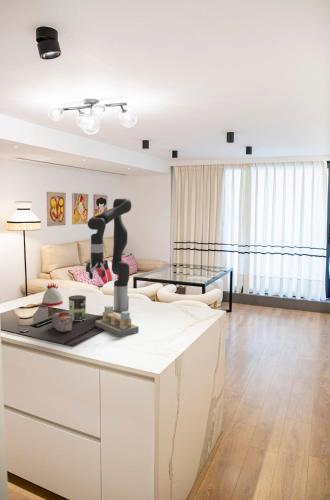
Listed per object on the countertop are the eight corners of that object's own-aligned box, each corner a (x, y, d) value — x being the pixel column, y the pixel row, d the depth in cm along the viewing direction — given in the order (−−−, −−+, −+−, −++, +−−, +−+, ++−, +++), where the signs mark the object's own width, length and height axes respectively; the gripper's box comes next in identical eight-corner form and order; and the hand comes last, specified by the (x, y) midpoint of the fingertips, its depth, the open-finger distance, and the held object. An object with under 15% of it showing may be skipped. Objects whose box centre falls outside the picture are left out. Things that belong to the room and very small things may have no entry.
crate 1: (109, 311, 219) (109, 305, 218) (112, 312, 216) (112, 306, 216) (104, 312, 216) (104, 306, 216) (107, 313, 214) (107, 307, 213)
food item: (74, 331, 206) (74, 314, 205) (61, 334, 200) (61, 316, 199) (62, 325, 215) (61, 309, 214) (49, 328, 210) (49, 311, 209)
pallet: (110, 318, 220) (110, 310, 220) (131, 327, 206) (131, 318, 205) (102, 320, 216) (102, 312, 216) (123, 329, 202) (123, 320, 201)
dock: (113, 321, 224) (113, 316, 224) (138, 331, 207) (138, 326, 207) (95, 325, 215) (95, 320, 215) (119, 336, 198) (119, 331, 198)
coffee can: (88, 317, 231) (88, 295, 230) (81, 322, 221) (81, 299, 220) (73, 316, 233) (73, 294, 232) (65, 321, 223) (65, 298, 222)
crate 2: (125, 317, 207) (125, 311, 207) (129, 318, 205) (129, 312, 204) (120, 318, 205) (120, 312, 204) (124, 319, 202) (124, 313, 202)
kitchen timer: (41, 301, 267) (41, 281, 266) (60, 300, 273) (60, 280, 272) (43, 306, 255) (43, 285, 253) (64, 304, 261) (63, 284, 259)
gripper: (103, 249, 227) (103, 275, 229) (83, 251, 217) (83, 278, 219) (110, 251, 222) (110, 277, 224) (90, 253, 212) (90, 280, 214)
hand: (97, 278), depth 222 cm, fingers open, 8 cm apart
